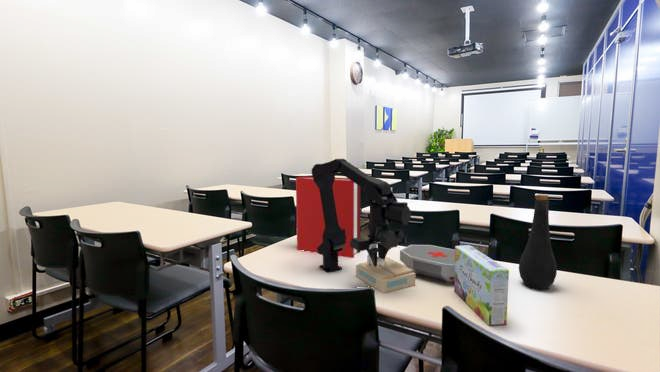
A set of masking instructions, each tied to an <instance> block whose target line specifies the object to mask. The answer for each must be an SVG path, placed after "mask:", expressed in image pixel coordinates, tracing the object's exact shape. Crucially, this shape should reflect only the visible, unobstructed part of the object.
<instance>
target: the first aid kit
mask: <svg viewBox="0 0 660 372" xmlns="http://www.w3.org/2000/svg"><path fill="white" fill-rule="evenodd" d="M399 261H400V262H401V263H403V265H404V266H406V267H408V268H411V269H413V273H415V275H421V276H425V277H429V278H432V279H433V278H434V279H436V280H440V281H444V282H446V283H452V282H454V281H455V249H452V248H449V247H448V248H447V247H443V246H438V245H433V244H409V245H407V246H406V247H404V248H402V249H400V250H399Z"/></svg>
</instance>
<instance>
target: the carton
mask: <svg viewBox="0 0 660 372" xmlns="http://www.w3.org/2000/svg"><path fill="white" fill-rule="evenodd" d="M355 277H357V278H359V279H360V280H361V281H363V282H364V283H366V284H368V285H370V286H372V288H374V289H375V290H377V291H378V292H381V293H382V294H386V293H389V292H392V291H397V290H402V289H405V288H410V287H414V286H416V274H415V273H414V272H410V273H406V274H401V275H397V276H394V274H392V273H390V272H389V271H387V270H385V269H383V268H381V267H379V266H377V267H375V266H374V265H373V264H371V265H368V264H367V261H365V262H361V263H358V264H356V265H355Z"/></svg>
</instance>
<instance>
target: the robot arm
mask: <svg viewBox="0 0 660 372" xmlns="http://www.w3.org/2000/svg"><path fill="white" fill-rule="evenodd" d="M338 173H340V175H343V176H344V177H345V178H349V179H350V180H351V181H353V182H354V183H356V184H357V185H359V186H360V189H361V190H362V192H363V193H364V195H366V197H367V198H368V200H366V202H365V203H364V204H363V205H364V206H368V207H369V221H368V222H367V226H369V233H368V234H367V239H366V238H364V237H361V236H360V237H358V238H352V239H351V241H350V247H352V248H354V249H356V250H358V251H360V252H363V251H366V252H367V254H369V256H370V258H371V261H372V263H373V265H374V266H375V267H377V257H379V258H381V259H383V260H385V258H386V257H387V254H388V252H389V251H390V250H391V249H393V248H398V245H403V244H406V242H407V241H406V240H407V238H406V236H405V235H404V231H402V230H401V229H398V230H391V224H390V223H392V224H398V225H404V226H405V225H408V224H409V223H410V220H411V217H412V212H411V209H410V207H409V205H408V202H405V201H404V202H399V201H398V199H397V198H396V196H395V194H394V193H393V191H392V190H391V185H390V184H389V182H387V181H385V180H383V179H381V178H377V177H372V176H370V175H368V174H367V173H365V172H364V171H362V170H361V169H359V168H358V167H357V166H355V165H353V164H352V163H350V162H349V161H348V160H347V159H345V158H335V159H333V160H330V161H327V162H324V163H316V164H314V165H313V166H312V168H311V175H312V176H311V177H313V180H314V182H315V184H316V185H317V186H318V188H319V190H320V197H321V203H322V210H323V216H324V222H325V229H324V232H323V242H322V243H321V244H320V246H319V247H318V248H317V250H318V253H317V254H319V255H322V264H320V265H319V268H320V269H322V271H325V272H326V273H331V272H334V271H338V270H339V271H340V270H342V266H340V265H339V256H338V252H340V251H342V250H343V247H344V245H345V244H346V239H347V238H346V234H345V229H341V227H340V226H339V225H338V219H337V213H336V206H335V200H334V194H333V183H334V180H335V178H336V174H338ZM388 222H389V223H388ZM379 265H380V264H379ZM380 266H382V265H380Z"/></svg>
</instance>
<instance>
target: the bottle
mask: <svg viewBox="0 0 660 372" xmlns="http://www.w3.org/2000/svg"><path fill="white" fill-rule="evenodd" d="M548 198H549V195H548V194H541V193H540V194H536V199H535V200H534V201H535V203H534V212H533V218H532V224H531V228H530V232H529V236H528V239H527V243H526V245H525V248H524V250H523V252H522V253H521V257H520V260H519V264H518V273H519V276H520V279H521V281H523V285H524V286H525V287H526V288H529V289H532V290H535V291H548V290H550V287H551V286H552V285H553V284H554V281H555V280H556V276H557V275H558V274H557V271H558V270H557V268H558V267H557V262H556V258H555V254H554V252H553V247H552V242H551V235H550V223H549V222H550V217H549V213H550V211H549V204H550V200H549V199H548Z"/></svg>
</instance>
